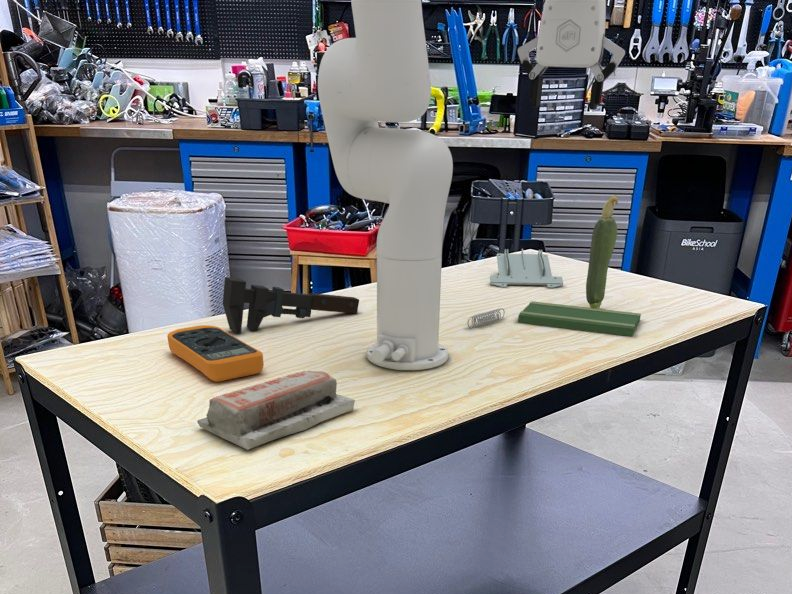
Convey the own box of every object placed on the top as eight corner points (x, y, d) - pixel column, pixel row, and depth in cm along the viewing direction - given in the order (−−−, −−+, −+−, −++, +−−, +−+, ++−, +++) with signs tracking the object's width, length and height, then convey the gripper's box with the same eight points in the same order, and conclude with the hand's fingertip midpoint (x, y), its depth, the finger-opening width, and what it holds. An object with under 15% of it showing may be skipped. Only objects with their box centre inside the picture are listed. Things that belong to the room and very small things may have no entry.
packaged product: (244, 414, 91) (192, 392, 96) (248, 453, 93) (197, 429, 99) (355, 375, 102) (303, 358, 108) (356, 410, 105) (305, 391, 110)
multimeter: (215, 342, 129) (213, 321, 127) (267, 374, 116) (265, 351, 114) (165, 351, 124) (161, 330, 122) (212, 385, 112) (210, 362, 110)
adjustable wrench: (353, 339, 146) (226, 332, 131) (346, 336, 148) (220, 328, 133) (361, 293, 142) (231, 280, 128) (353, 290, 144) (225, 277, 130)
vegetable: (577, 306, 151) (592, 193, 140) (596, 304, 152) (612, 191, 142) (591, 312, 147) (607, 196, 137) (610, 310, 149) (628, 195, 138)
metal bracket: (487, 243, 171) (557, 244, 170) (485, 268, 175) (553, 269, 175) (491, 278, 161) (565, 279, 161) (489, 303, 165) (560, 305, 165)
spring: (471, 330, 137) (472, 318, 135) (462, 327, 138) (463, 316, 137) (508, 319, 142) (509, 308, 141) (499, 317, 144) (500, 306, 143)
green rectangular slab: (632, 336, 135) (633, 327, 134) (517, 322, 141) (518, 314, 140) (639, 321, 143) (641, 312, 142) (531, 308, 149) (531, 300, 148)
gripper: (517, -19, 123) (507, 106, 132) (630, -20, 118) (612, 111, 126) (530, -15, 129) (519, 105, 138) (638, -15, 124) (620, 109, 132)
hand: (563, 108), depth 132 cm, fingers open, 9 cm apart
